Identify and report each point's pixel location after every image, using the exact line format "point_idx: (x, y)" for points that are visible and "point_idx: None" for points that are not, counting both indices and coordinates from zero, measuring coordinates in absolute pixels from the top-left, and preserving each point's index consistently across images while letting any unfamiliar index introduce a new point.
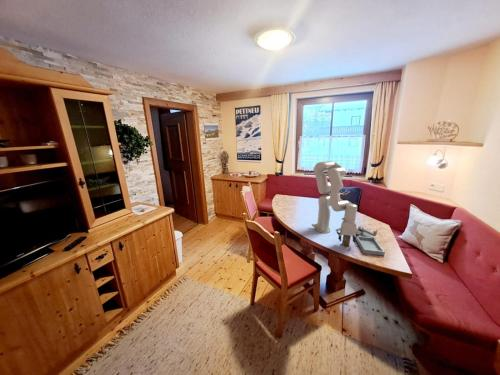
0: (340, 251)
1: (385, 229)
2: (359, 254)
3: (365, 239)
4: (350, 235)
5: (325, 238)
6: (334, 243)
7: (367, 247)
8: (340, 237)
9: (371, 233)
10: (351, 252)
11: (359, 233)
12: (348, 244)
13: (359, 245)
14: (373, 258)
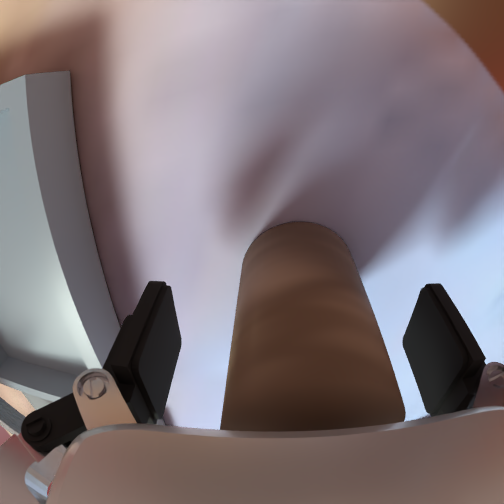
0: (448, 55)
1: (9, 432)
2: (139, 16)
3: (51, 372)
4: (265, 438)
5: (482, 345)
6: (450, 269)
7: (13, 230)
8: (474, 339)
9: (9, 421)
10: (266, 36)
11: (8, 459)
12: (272, 244)
13: (96, 267)
14: (2, 13)
